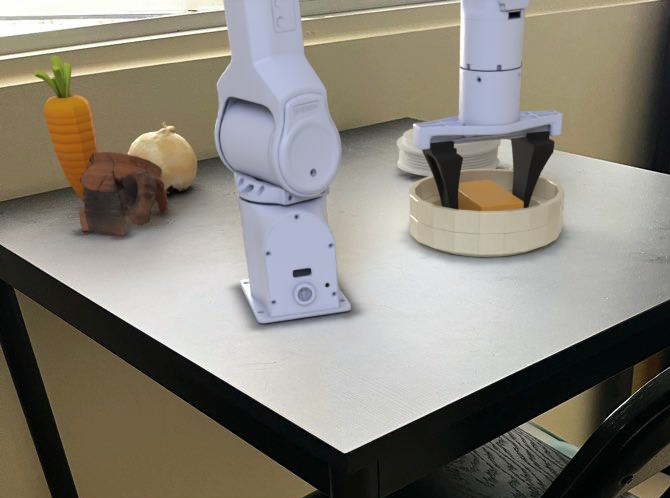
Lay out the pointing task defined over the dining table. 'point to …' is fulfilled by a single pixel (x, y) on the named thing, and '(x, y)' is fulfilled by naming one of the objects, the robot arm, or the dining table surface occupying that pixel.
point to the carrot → (69, 125)
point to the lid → (472, 153)
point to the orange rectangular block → (486, 197)
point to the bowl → (486, 218)
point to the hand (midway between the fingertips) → (485, 217)
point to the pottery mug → (120, 192)
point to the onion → (168, 156)
